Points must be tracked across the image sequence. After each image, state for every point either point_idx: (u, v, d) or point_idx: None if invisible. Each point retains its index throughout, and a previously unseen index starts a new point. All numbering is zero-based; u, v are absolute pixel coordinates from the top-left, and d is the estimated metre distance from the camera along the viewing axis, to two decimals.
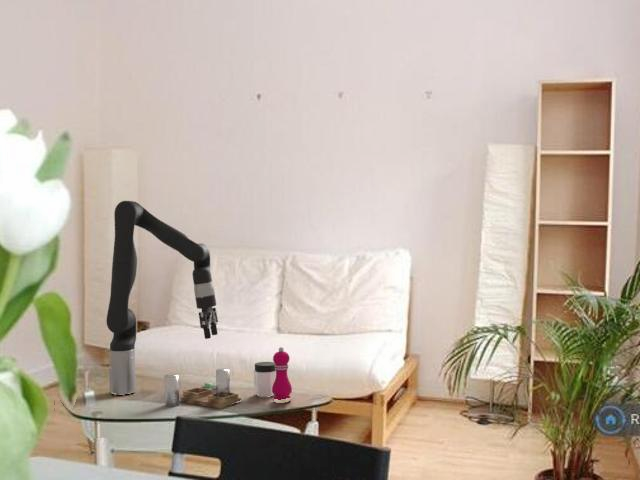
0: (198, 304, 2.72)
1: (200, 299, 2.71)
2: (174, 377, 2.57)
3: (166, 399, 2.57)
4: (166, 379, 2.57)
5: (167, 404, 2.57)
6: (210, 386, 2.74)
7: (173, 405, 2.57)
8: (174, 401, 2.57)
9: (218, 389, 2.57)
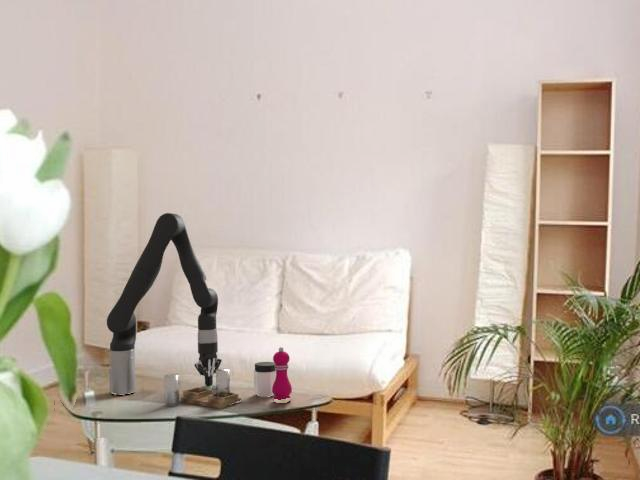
0: (198, 349, 2.74)
1: (199, 345, 2.73)
2: (174, 377, 2.57)
3: (166, 399, 2.57)
4: (166, 379, 2.57)
5: (167, 404, 2.57)
6: None
7: (173, 405, 2.57)
8: (174, 401, 2.57)
9: (218, 389, 2.57)
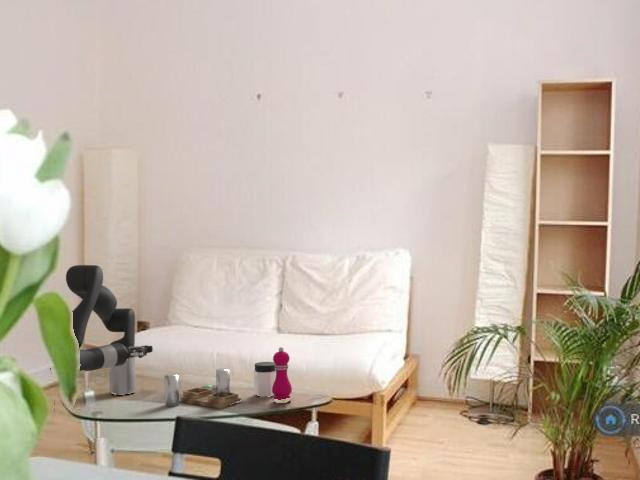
0: None
1: None
2: (174, 377, 2.57)
3: (166, 399, 2.57)
4: (166, 379, 2.57)
5: (167, 404, 2.57)
6: None
7: (173, 405, 2.57)
8: (174, 401, 2.57)
9: (218, 389, 2.57)
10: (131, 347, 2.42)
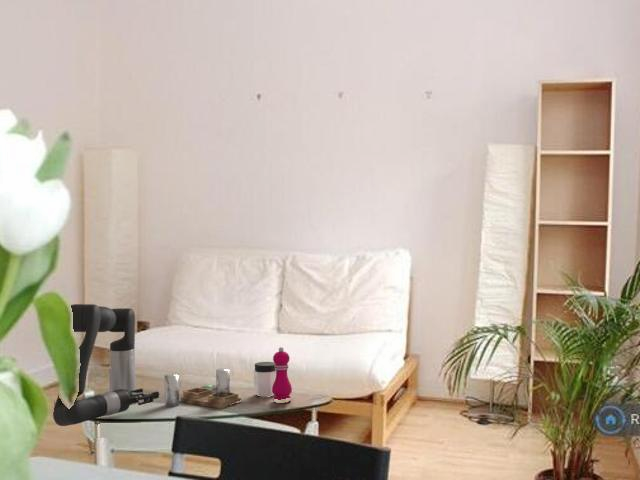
0: None
1: None
2: (174, 377, 2.57)
3: (166, 399, 2.57)
4: (166, 379, 2.57)
5: (167, 404, 2.57)
6: None
7: (173, 405, 2.57)
8: (174, 401, 2.57)
9: (218, 389, 2.57)
10: (133, 393, 2.43)
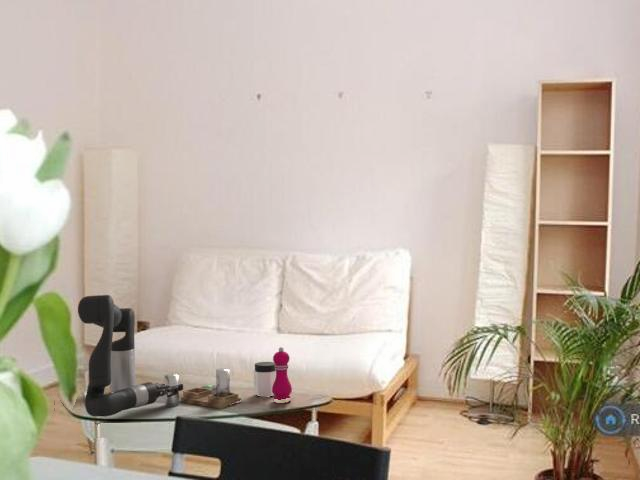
0: None
1: None
2: (174, 377, 2.57)
3: (166, 399, 2.57)
4: (166, 379, 2.57)
5: (167, 404, 2.57)
6: None
7: (173, 405, 2.57)
8: (174, 401, 2.57)
9: (218, 389, 2.57)
10: (161, 386, 2.52)
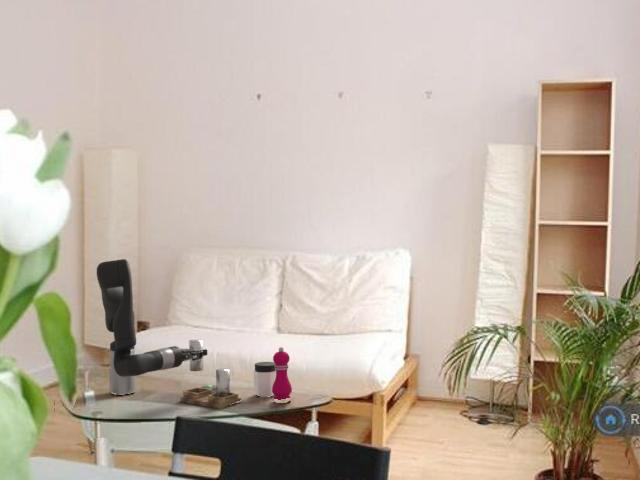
0: None
1: None
2: (199, 342, 2.64)
3: (191, 364, 2.64)
4: (191, 344, 2.64)
5: (191, 368, 2.64)
6: None
7: (197, 369, 2.64)
8: (198, 366, 2.64)
9: (218, 389, 2.57)
10: (186, 350, 2.60)
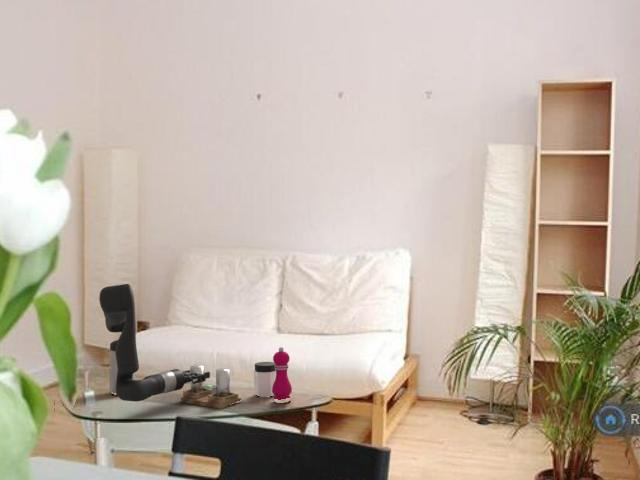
0: None
1: None
2: (200, 368, 2.65)
3: (192, 389, 2.65)
4: (192, 370, 2.65)
5: None
6: None
7: None
8: None
9: (218, 389, 2.57)
10: (187, 373, 2.60)
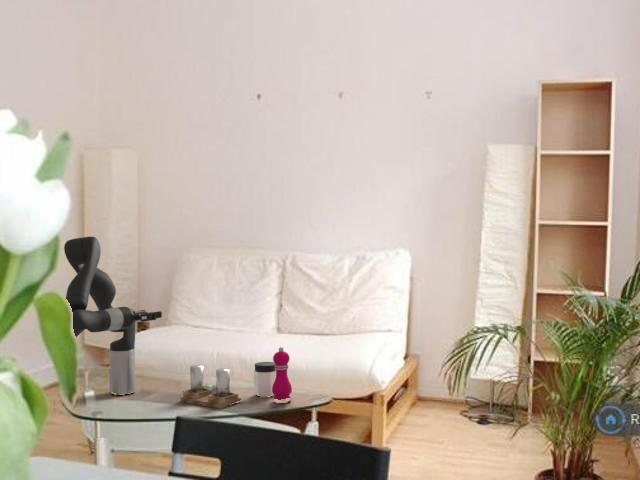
0: None
1: None
2: (199, 368, 2.65)
3: (192, 389, 2.65)
4: (192, 370, 2.65)
5: None
6: None
7: None
8: None
9: (218, 389, 2.57)
10: (136, 311, 2.45)
